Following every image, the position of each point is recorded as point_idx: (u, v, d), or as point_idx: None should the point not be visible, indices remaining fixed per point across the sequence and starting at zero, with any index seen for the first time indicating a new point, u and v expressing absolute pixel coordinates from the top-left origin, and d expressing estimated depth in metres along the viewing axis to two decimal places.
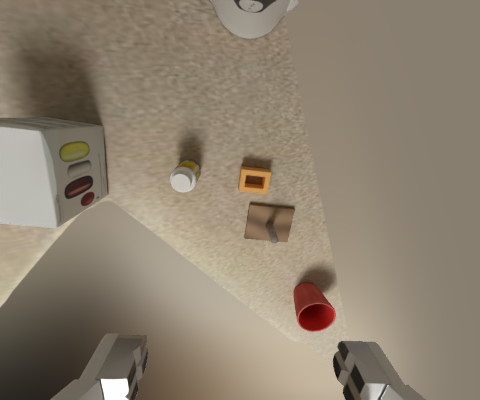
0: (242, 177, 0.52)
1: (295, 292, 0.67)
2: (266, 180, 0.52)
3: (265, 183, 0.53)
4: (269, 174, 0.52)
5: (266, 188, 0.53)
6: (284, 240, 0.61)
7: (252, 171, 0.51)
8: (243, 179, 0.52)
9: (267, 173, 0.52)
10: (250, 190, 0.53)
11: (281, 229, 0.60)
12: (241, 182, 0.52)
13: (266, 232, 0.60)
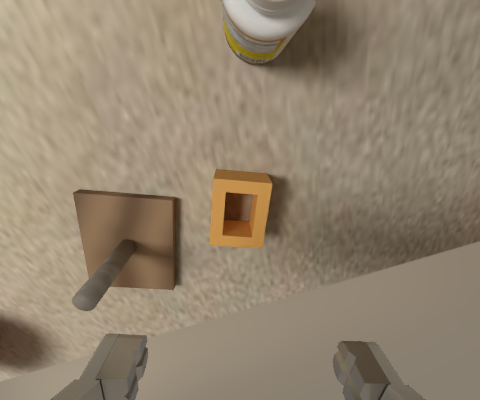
0: (251, 186, 0.20)
1: None
2: (243, 240, 0.22)
3: (236, 238, 0.22)
4: (258, 245, 0.23)
5: (224, 241, 0.22)
6: None
7: (266, 208, 0.21)
8: (245, 188, 0.20)
9: (260, 240, 0.22)
10: (217, 207, 0.21)
11: (119, 272, 0.26)
12: (238, 184, 0.20)
13: (105, 243, 0.25)
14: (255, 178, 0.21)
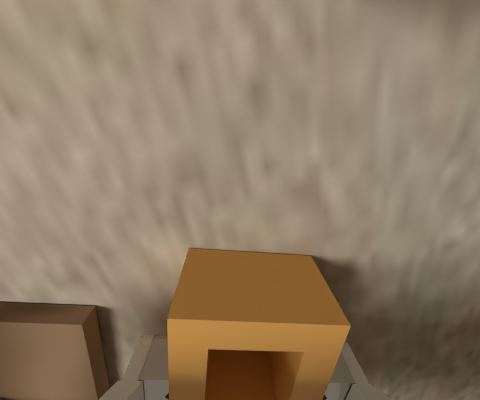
0: (285, 332, 0.07)
1: None
2: None
3: None
4: None
5: None
6: None
7: (323, 378, 0.08)
8: (269, 339, 0.07)
9: None
10: (184, 382, 0.07)
11: None
12: (245, 330, 0.06)
13: None
14: (292, 291, 0.08)
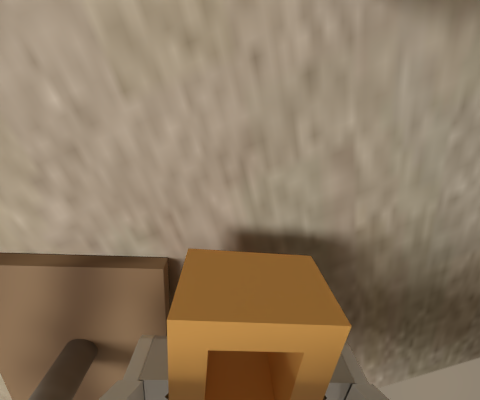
0: (286, 333, 0.07)
1: None
2: None
3: None
4: None
5: None
6: None
7: (323, 379, 0.07)
8: (269, 340, 0.07)
9: None
10: (184, 383, 0.07)
11: None
12: (245, 331, 0.06)
13: (37, 347, 0.13)
14: (292, 292, 0.08)
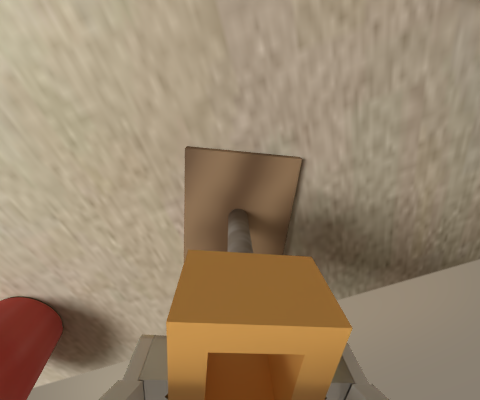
0: (286, 335, 0.07)
1: (16, 310, 0.23)
2: None
3: None
4: None
5: None
6: None
7: (324, 381, 0.07)
8: (269, 342, 0.07)
9: None
10: (184, 385, 0.07)
11: (221, 249, 0.22)
12: (245, 333, 0.06)
13: (212, 213, 0.21)
14: (293, 293, 0.08)
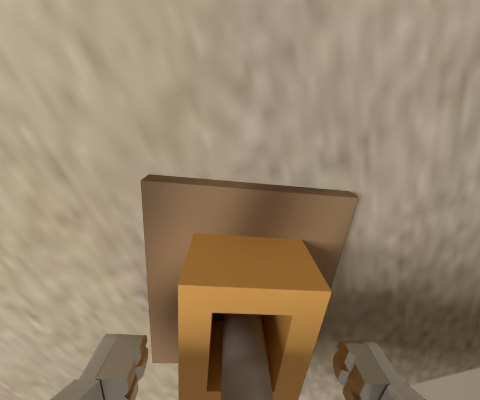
0: (277, 298, 0.08)
1: None
2: None
3: None
4: None
5: None
6: (159, 353, 0.14)
7: (310, 340, 0.09)
8: (263, 303, 0.08)
9: (292, 396, 0.10)
10: (191, 342, 0.08)
11: None
12: (243, 295, 0.08)
13: None
14: (283, 266, 0.09)
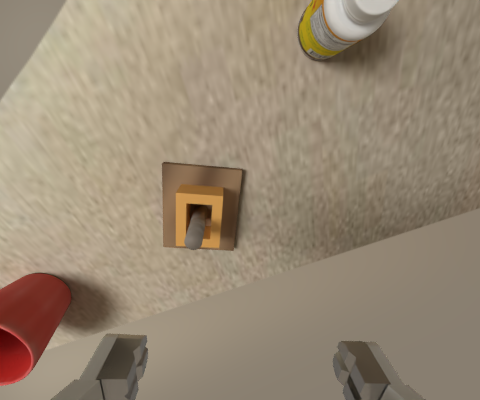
0: (206, 198, 0.26)
1: (38, 281, 0.31)
2: (203, 241, 0.28)
3: None
4: (215, 245, 0.28)
5: None
6: (166, 242, 0.31)
7: (219, 216, 0.26)
8: (202, 200, 0.26)
9: (217, 241, 0.28)
10: (180, 215, 0.26)
11: None
12: (195, 197, 0.25)
13: None
14: (211, 191, 0.27)
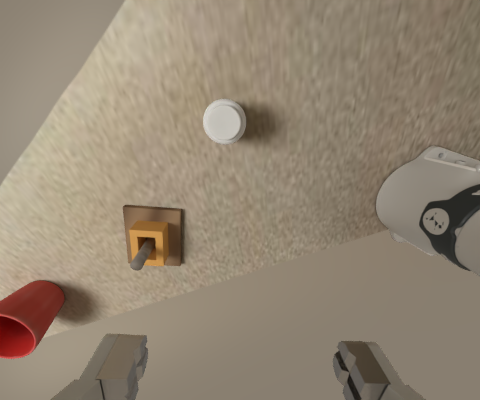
0: (150, 233, 0.37)
1: (40, 287, 0.43)
2: (152, 261, 0.39)
3: (147, 261, 0.39)
4: (160, 264, 0.39)
5: None
6: (130, 259, 0.43)
7: (161, 244, 0.38)
8: (148, 234, 0.37)
9: (161, 262, 0.39)
10: (133, 244, 0.38)
11: None
12: (143, 232, 0.37)
13: None
14: (155, 227, 0.38)
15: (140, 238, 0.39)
